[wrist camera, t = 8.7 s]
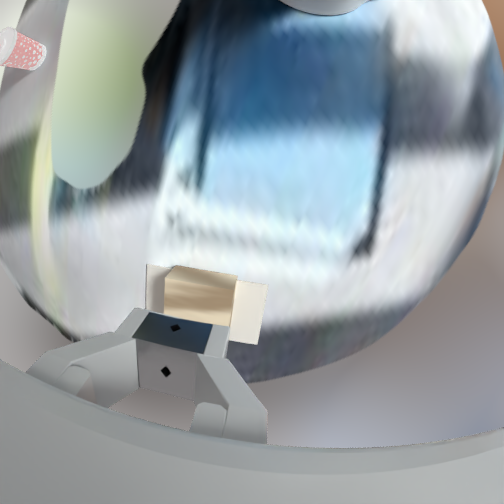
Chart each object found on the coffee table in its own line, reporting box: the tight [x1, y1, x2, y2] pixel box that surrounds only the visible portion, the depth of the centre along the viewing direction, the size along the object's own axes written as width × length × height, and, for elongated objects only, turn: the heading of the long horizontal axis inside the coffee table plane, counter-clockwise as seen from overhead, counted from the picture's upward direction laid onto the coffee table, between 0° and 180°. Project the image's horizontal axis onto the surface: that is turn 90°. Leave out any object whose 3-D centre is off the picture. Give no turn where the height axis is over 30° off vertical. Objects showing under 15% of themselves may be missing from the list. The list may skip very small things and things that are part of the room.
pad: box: [146, 264, 268, 345], centre depth 40 cm, size 9×16×1 cm, turn 81°
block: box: [164, 265, 238, 327], centre depth 37 cm, size 4×8×8 cm
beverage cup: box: [0, 27, 47, 71], centre depth 24 cm, size 6×6×14 cm
